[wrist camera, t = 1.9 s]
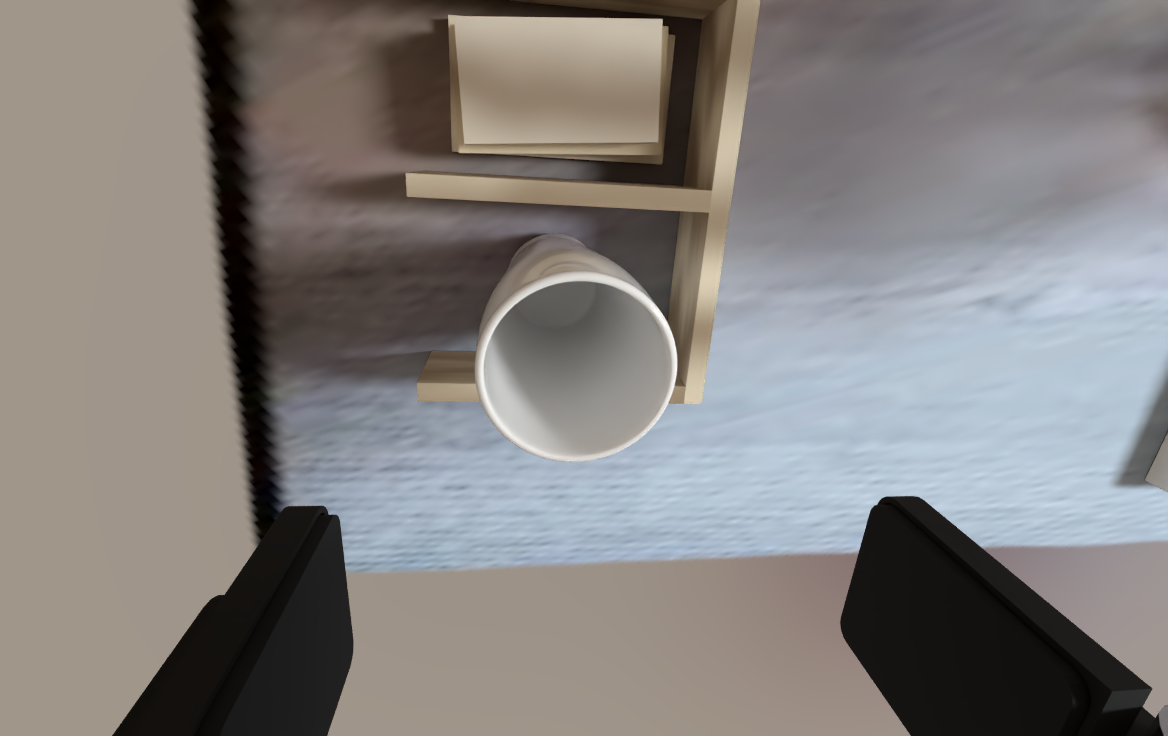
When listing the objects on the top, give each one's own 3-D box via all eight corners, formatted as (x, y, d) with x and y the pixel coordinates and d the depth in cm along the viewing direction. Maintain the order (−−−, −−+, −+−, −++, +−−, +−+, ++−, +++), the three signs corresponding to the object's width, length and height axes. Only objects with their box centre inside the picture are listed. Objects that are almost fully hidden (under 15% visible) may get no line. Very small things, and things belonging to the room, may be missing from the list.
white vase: (526, 353, 33) (528, 496, 19) (472, 250, 30) (431, 326, 17) (628, 306, 33) (708, 417, 19) (583, 198, 30) (636, 231, 16)
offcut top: (457, 24, 25) (453, 16, 23) (654, 26, 25) (662, 18, 24) (467, 144, 26) (464, 143, 25) (650, 143, 27) (658, 142, 26)
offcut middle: (453, 26, 26) (449, 18, 24) (660, 33, 27) (668, 26, 25) (462, 153, 28) (458, 153, 27) (654, 155, 29) (661, 155, 28)
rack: (416, -34, 26) (392, -76, 21) (724, -3, 27) (766, -36, 23) (432, 366, 33) (417, 401, 28) (677, 370, 34) (701, 403, 30)
